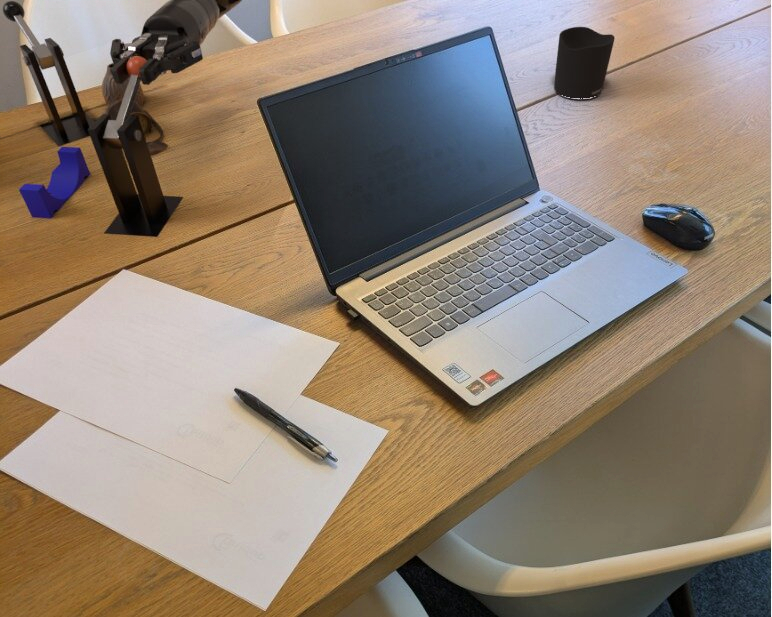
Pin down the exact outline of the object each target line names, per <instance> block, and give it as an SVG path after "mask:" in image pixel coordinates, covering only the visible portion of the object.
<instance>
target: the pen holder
mask: <svg viewBox="0 0 772 617" xmlns="http://www.w3.org/2000/svg"><path fill="white" fill-rule="evenodd" d="M615 39H616V38H615V35H613V34H604V33H603V34H602V33H600V32H598V31H595V30H593V29H592V28H589V27H587V26H574V27H573V26H572V27H569V28H566V29H563V30H562V31H560V33H559V37H558V44H557V55H556V63H555V72H554V82H553V84H554V85H553V89H554V91H555V90H556V91H555V93H556V92H557V93H559V94H560V95H563V96H566V97H570V98H580V99H581V98H582V99H583V98H590V97H594V96H597V95H598V94H599V95H601V94H602V92H601V91H603V88H604V84H605V80H606V76H607V72H608V68H609V64H610V60H611V55H612V51H613V47H614V42H615ZM557 93H556V94H557ZM560 95H559V96H560ZM599 95H598V96H599ZM598 96H597V97H598Z"/></svg>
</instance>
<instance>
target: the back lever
mask: <svg viewBox="0 0 772 617" xmlns="http://www.w3.org/2000/svg"><path fill="white" fill-rule="evenodd" d="M2 13H3V15H4V17H5V18H6V19H7V20H8V21H10V22H14V23H16V24H17V26H18V27H19V29H20V30H21V32H22V33H23V35H24V36H25V38H26V39H27V41H28V42H29V44H30V46H31V47H30V49H31V50H32V51H33V52H34V54H35V56H36V59H37V61H38V64H39V66H40V69H41V71H42V70H43V71H44V70H46V69H51V68H55V62H54V58H53V55H52V53H51V52H50V50H49V49H48V47H47V45H46V42H44V43H40V42H39V40H38V39H37V37H36V35H34V32H33V31H32V30H31V28H30V26H29V24H28V23H27V22H26V20H25V19H24V18H25V14H26V13H25V9H24V6H22V4H21V3H19V2H17V1H15V0H8V1H6V2H5V3H3V6H2Z"/></svg>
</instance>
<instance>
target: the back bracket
mask: <svg viewBox="0 0 772 617" xmlns="http://www.w3.org/2000/svg"><path fill="white" fill-rule="evenodd" d="M44 43H45V44H46V46H47V47H48V49H49V50H50V52H51V53H52V55H53V58H54V62H55V66H54V69H55V71H56V74H57V76H58V78H59V81H60V84H61V86H62V89H63V91H64V94H65V96H66V99H67V102H68V104H69V107H70V110H71V112H72V114H71V115H68V116H65V117H63V118H61V117H60V114H59V112H58V109H57V106H56V104H55V101H54V99H53V96H52V93H51V91H50V89H49V86H48V84H47V82H46V79H45V76H44V74H43V72H42V69H41V67H40V66H39V64H38V61H37V59H36V56H35V54H34V52H33V51H32V48H31V47H29V46H28V45H27V44H21V45H19V48H20V51H21V54H22V55H23V56H22V61H23V63H24V65H25V67H27V68H28V70H29V73H30V76H31V78H32V80H33V82H34V85H35V86H36V87H35V88H36V91H37V92H38V95H39V97H40V100H41V102H42V104H43V107H44V109H45V112H46V114H47V116H48V119H49V122H46V123H43V124H40V125H39V126H40V128H41V129H42V130H43V132H45V134H46V135H48V137H49V138H50V139H51V140H52V141H53V142H54V144H55V145H56V146H57V147H58V148H59V147H63V146H64V145H68V144H71V143H73V142H76V141H80V140H82V139H85V138H89V137H90V135H89V132H88V129H89V128H90V127H91V126H92V125H93V124H94V123H95V120H93V119H92V118H91V117H90V116H89V115H88V114H87V113H86V112H85V111H84V107H83V105H82V103H81V100H80V98H79V95H78V92H77V89H76V87H75V84H74V81H73V78H72V76H71V73H70V71H69V68H68V66H67V63H66V60H65V57H64V55H65V54H64V51H63V49H62V48H61V46H60V45H59V43H57V42H56V41H55V40H53V39H52V38H51V37H48V38H44Z"/></svg>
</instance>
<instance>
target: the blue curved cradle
mask: <svg viewBox="0 0 772 617" xmlns="http://www.w3.org/2000/svg"><path fill="white" fill-rule="evenodd" d="M56 153H57V156H58V159H59V164H58V165H57V166H56V167H55V168H54V169H53V170H52V171H51V173H50V174H51V175H50V180H49V183H48V186H47V188H46V186H45V184H39V183H37V184H36V183H24V184H23V185H22V186H20V187H19V189H18V192H19V193H20V195H21V197H22V199H23V201H24V203H25V205H26V208H27V209H28V212H29V213H30V215H31V217H32V218H37V219H50V220H51V219H53V217H54V212H55V211H56V212H58V211H59V210H60V209H61V208H62V207H63V206H64V205H65V204H66V203H67V202H68V200H69V199H70V198H72V196H73V195H74V194H76V191H77V190H78V189H79V188H80V187H81V186H82V185H83V184H84V183H85V178H89V177H90V176H91V172H90V169H89V167H88V164H87V162H86V159H85V157H84V154H83V152H82V149H81V147H76V146H75V147H74V146H60V148H59V149H58V150H57V151H56Z"/></svg>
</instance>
